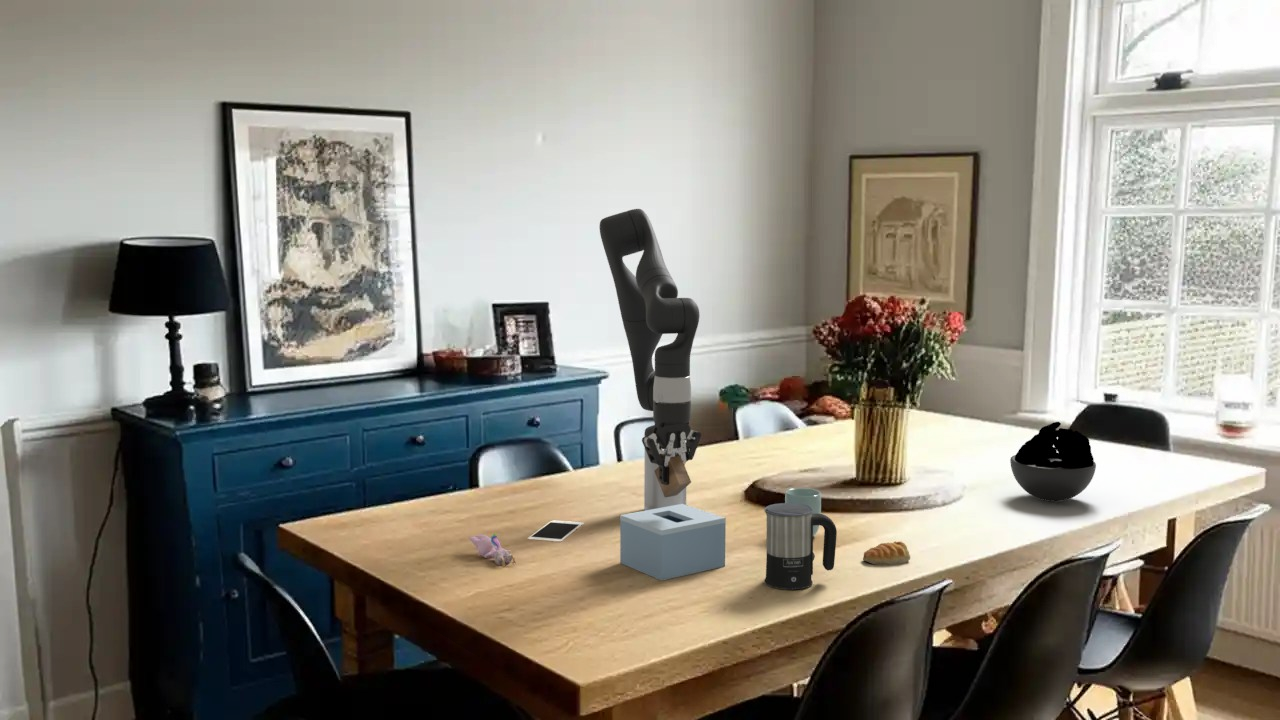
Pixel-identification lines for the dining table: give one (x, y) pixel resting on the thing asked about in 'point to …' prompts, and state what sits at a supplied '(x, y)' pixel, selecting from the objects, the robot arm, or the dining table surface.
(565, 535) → the cell phone
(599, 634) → the dining table surface
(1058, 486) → the bowl of black rocks
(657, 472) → the wooden rectangular block
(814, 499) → the cup
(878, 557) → the pastry
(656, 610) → the dining table surface
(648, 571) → the box
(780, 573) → the milk frother
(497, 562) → the rabbit figure
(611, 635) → the dining table surface
